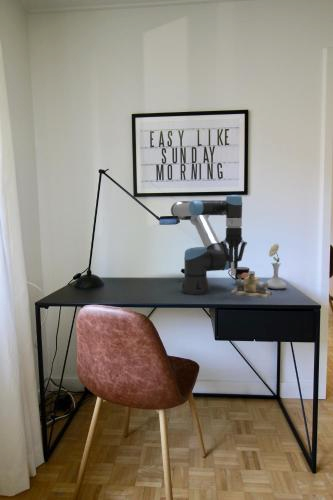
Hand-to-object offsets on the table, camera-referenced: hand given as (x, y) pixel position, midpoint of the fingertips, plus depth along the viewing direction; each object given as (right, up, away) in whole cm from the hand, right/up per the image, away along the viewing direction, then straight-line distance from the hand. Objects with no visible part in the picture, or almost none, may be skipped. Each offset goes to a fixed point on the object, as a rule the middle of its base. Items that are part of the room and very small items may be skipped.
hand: (233, 275), depth 160 cm
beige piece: (+11, -10, +6) cm, 16 cm away
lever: (+8, 0, +1) cm, 8 cm away
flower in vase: (+27, -9, +18) cm, 34 cm away
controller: (-18, -7, +39) cm, 44 cm away
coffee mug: (+10, -8, +28) cm, 31 cm away
